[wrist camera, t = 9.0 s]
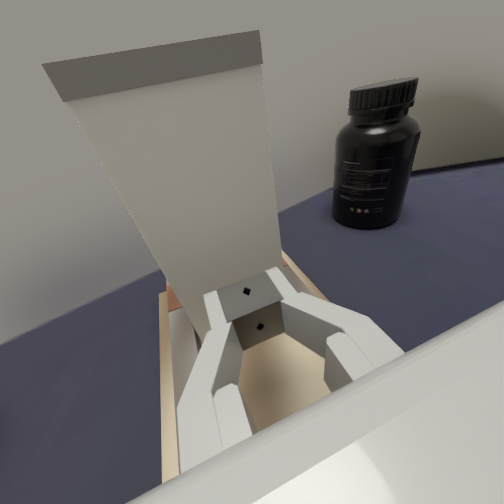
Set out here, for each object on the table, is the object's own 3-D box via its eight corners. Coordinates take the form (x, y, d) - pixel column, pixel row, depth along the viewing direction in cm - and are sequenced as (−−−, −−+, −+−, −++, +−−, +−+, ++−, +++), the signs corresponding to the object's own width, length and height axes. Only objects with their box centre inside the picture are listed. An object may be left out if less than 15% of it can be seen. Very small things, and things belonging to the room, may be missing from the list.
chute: (280, 252, 22) (279, 236, 20) (560, 565, 7) (610, 571, 6) (161, 297, 19) (151, 282, 18) (180, 928, 4) (133, 1065, 3)
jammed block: (256, 263, 20) (215, 63, 11) (289, 311, 15) (259, 30, 7) (192, 287, 19) (94, 86, 10) (204, 348, 14) (41, 64, 6)
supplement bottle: (340, 199, 28) (349, 86, 21) (401, 204, 25) (437, 70, 18) (323, 225, 24) (327, 95, 17) (395, 236, 21) (438, 76, 13)
